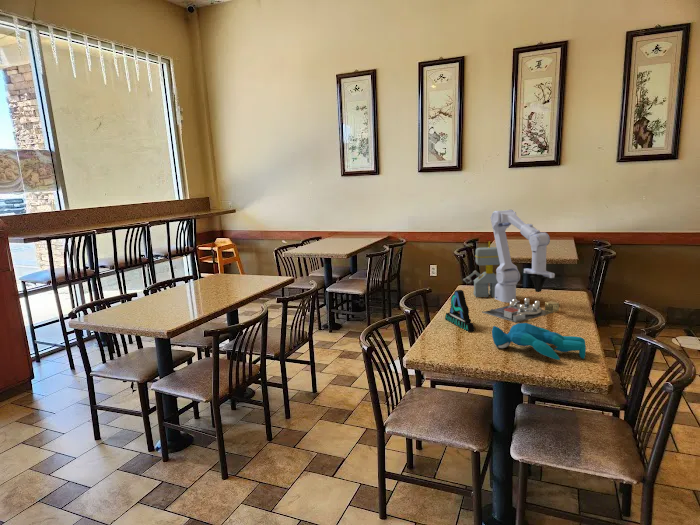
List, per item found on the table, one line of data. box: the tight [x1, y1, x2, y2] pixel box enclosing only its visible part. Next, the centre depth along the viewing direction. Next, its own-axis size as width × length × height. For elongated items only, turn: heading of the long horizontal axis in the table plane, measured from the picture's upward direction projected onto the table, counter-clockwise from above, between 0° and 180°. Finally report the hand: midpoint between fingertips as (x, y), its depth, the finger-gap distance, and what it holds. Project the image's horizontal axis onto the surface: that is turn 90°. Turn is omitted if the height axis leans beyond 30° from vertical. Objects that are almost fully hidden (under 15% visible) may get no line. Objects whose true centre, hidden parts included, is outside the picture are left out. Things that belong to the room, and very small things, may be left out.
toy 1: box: [462, 237, 506, 299], centre depth 230 cm, size 26×9×30 cm, turn 84°
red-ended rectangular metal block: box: [504, 307, 518, 320], centre depth 192 cm, size 4×4×4 cm
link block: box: [544, 300, 560, 314], centre depth 202 cm, size 4×4×4 cm
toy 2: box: [491, 322, 587, 361], centre depth 157 cm, size 19×10×30 cm
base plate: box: [481, 305, 554, 324], centre depth 200 cm, size 19×23×3 cm
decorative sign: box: [444, 289, 475, 333], centre depth 188 cm, size 19×2×15 cm, turn 18°
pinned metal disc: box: [508, 297, 543, 316], centre depth 201 cm, size 14×14×4 cm
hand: (538, 291), depth 199 cm, fingers closed
